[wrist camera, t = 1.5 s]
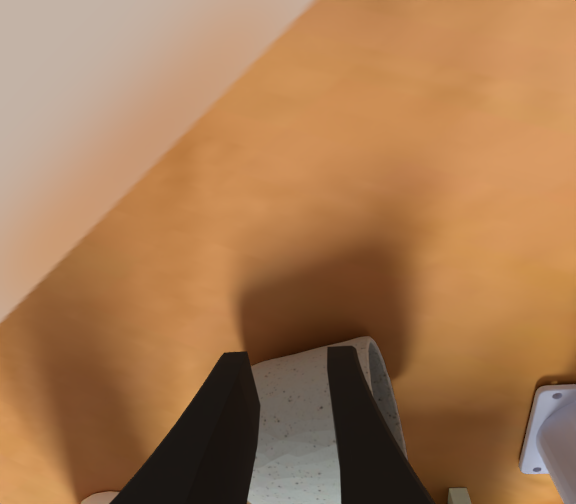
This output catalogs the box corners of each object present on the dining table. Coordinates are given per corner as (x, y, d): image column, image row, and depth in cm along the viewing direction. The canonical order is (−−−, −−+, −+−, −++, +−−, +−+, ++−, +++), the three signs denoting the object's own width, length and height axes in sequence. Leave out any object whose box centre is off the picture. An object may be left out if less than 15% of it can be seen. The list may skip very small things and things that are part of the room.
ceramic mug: (225, 343, 24) (190, 474, 17) (362, 304, 22) (381, 436, 15) (296, 448, 29) (289, 581, 22) (412, 425, 27) (444, 564, 20)
